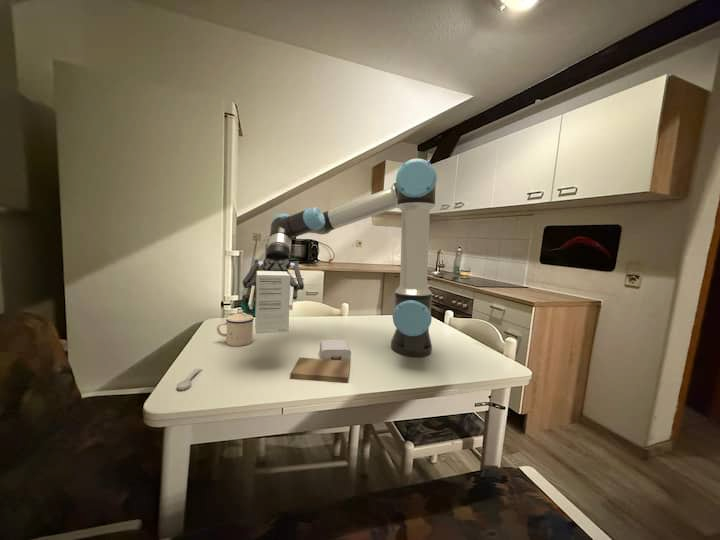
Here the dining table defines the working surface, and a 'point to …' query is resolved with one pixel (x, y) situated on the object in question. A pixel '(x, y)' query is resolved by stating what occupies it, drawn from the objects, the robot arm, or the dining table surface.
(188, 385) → the spoon
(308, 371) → the walnut board
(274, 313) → the supplement box
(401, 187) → the robot arm
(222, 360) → the dining table surface
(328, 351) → the charger
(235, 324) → the teacup with lid
